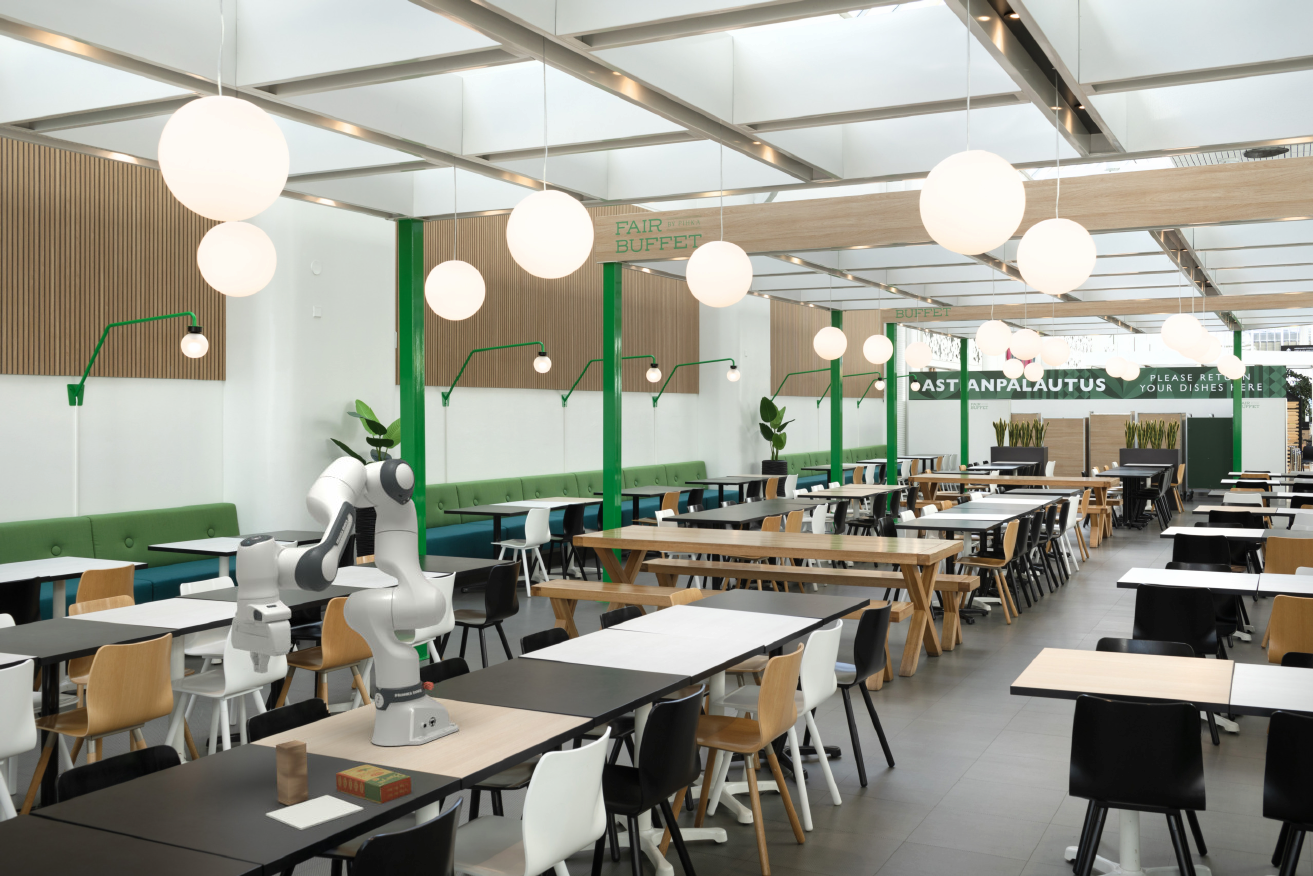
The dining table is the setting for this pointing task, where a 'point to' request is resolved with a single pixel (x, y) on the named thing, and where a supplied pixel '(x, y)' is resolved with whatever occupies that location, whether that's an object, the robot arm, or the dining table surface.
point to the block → (292, 772)
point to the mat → (314, 812)
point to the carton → (373, 783)
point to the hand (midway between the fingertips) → (260, 672)
